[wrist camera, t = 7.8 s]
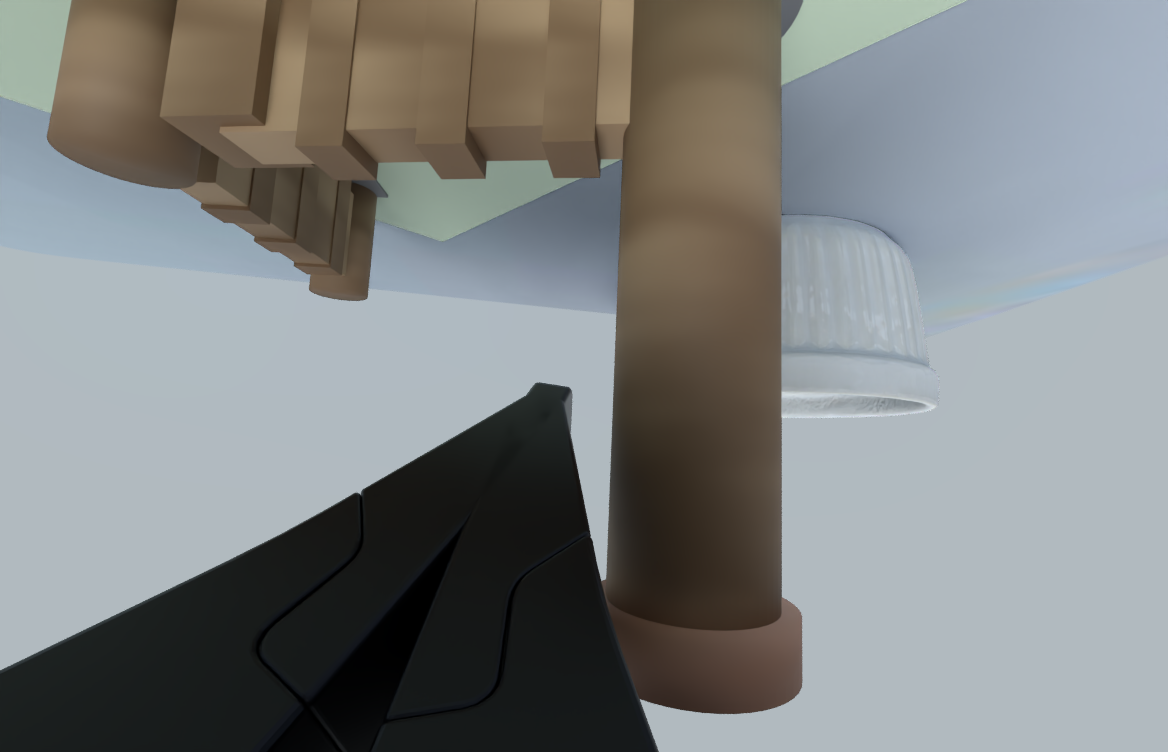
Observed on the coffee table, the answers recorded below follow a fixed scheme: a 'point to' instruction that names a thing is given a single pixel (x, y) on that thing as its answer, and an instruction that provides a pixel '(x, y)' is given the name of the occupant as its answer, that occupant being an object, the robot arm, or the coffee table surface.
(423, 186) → the card
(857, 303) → the ramekin
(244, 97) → the fence swing panel
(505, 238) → the coffee table surface
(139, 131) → the fence fixed panel
